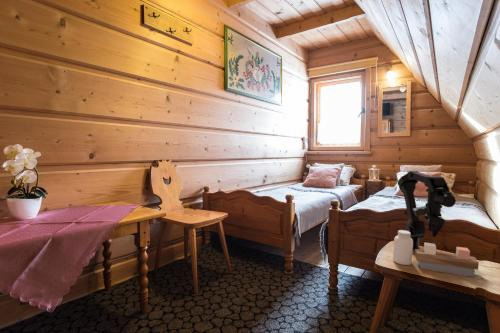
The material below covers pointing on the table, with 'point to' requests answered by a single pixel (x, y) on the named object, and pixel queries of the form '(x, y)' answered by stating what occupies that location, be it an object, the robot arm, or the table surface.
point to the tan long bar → (446, 259)
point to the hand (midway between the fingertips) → (432, 233)
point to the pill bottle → (403, 248)
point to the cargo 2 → (462, 253)
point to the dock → (447, 268)
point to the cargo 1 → (429, 248)
